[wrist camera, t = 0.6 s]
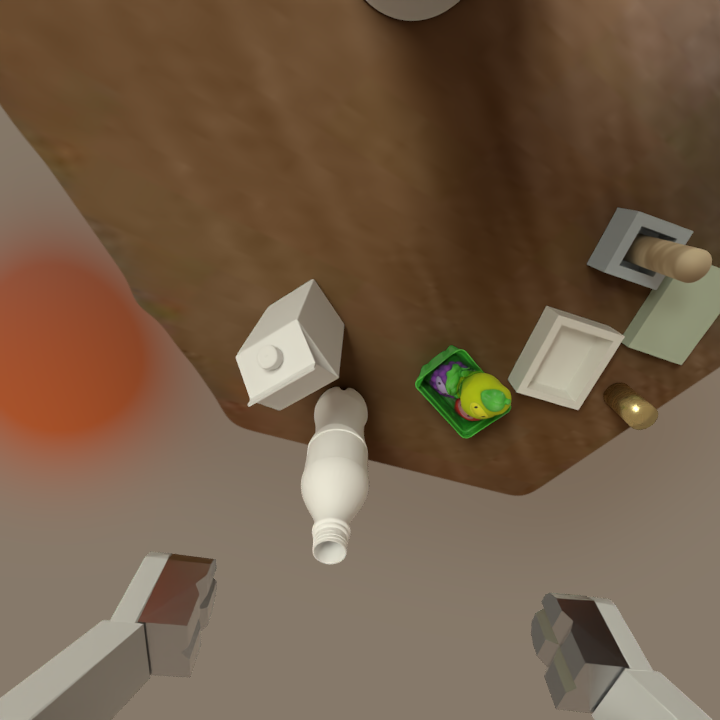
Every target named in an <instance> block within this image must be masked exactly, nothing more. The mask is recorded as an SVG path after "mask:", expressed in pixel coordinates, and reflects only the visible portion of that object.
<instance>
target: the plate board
mask: <svg viewBox="0 0 720 720" xmlns="http://www.w3.org/2000/svg"><path fill="white" fill-rule="evenodd" d="M719 314H720V268H718V267H715V266H713V265H711V267H710V269H709V271H708V273H707V274H706V275H705V276H704V277H703V278H701V279H700V280H698V281H696V282H693V283H684V282H681V281H679V280H676V279H673V278H671V277H668V276H665V277H664V279H663V281H662V282H661V284H660V285H659V287H658V288H657V290H654V289H652V291H651V292H650V294H649V296H648V297H647V299H646V300H645V302H644V303H643V305H642V306H641V308H640V309H639V311H638V313H637V314H636V316H635V317H634V319H633V320H632V322H631V323H630V325H629V326H628V328H627V329H626V331H625V333H624V334H623V335H624V336H625V337H624V339H623V341H622V342H621V343H623V344H624V345H626V346H627V347H629V348H632V349H635V350H638V351H641V352H644V353H647V354H650V355H653V356H656V357H659V358H662V359H665V360H668V361H670V362H673V363H676V364H679V365H682V364H683V362H684V361H685V360H686V358H687V357H688V356H689V354H690V353H691V352H692V350H693V349H694V348H695V346H696V345H697V343H698V342H699V341H700V339H701V338H702V337H703V335H704V334H705V333H706V331H707V330H708V329H709V327H710V326H711V325H712V323H713V322H714V320H715V319H716V318H717V316H718V315H719Z"/></svg>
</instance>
